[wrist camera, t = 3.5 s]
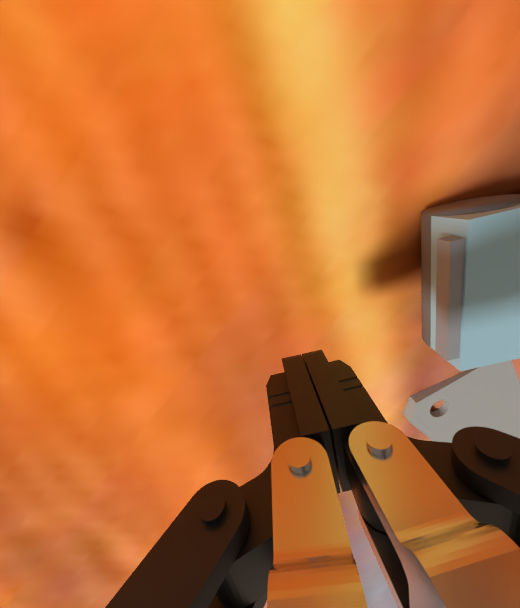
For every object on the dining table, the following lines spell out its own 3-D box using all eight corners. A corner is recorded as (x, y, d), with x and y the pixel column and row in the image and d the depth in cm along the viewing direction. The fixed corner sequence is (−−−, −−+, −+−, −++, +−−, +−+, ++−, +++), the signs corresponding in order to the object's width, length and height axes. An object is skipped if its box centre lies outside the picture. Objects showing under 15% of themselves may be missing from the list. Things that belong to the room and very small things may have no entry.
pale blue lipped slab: (392, 215, 14) (453, 223, 10) (582, 169, 14) (722, 158, 10) (398, 331, 17) (447, 374, 13) (557, 294, 16) (661, 326, 12)
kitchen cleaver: (567, 538, 26) (467, 578, 26) (555, 526, 27) (459, 565, 27) (547, 334, 17) (401, 401, 18) (530, 327, 18) (392, 391, 19)
